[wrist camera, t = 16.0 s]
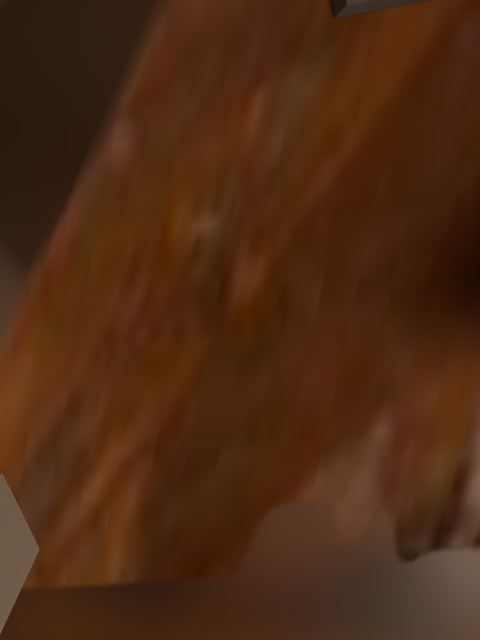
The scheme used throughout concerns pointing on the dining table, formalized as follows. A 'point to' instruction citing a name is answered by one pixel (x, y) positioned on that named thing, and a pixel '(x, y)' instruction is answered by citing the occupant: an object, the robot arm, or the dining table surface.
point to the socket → (365, 6)
